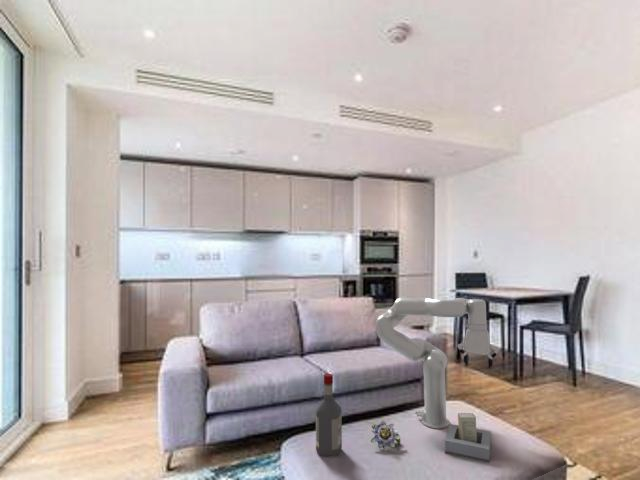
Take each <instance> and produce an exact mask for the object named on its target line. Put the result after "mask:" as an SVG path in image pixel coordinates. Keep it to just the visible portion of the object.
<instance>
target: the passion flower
mask: <svg viewBox="0 0 640 480" xmlns="http://www.w3.org/2000/svg"><path fill="white" fill-rule="evenodd" d="M394 427H395V424H394V423H390V424H387V422H386V420H385V419H381V422H380V423H378V424H375V423H374V424H373V425H371V428H372V430H371V433H373V435H374V434H375V435H374V437H372V438H371V440H370V442H371V443H376V442H377V445H378V448H379V449H381V448H383V451H385V452H386V451H388V448H389V446H390V448H395V441H396V442H397V444H398V446H400V445H401V443H402V442H401V436H400V435H399V430H398V429H395V428H394Z"/></svg>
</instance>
